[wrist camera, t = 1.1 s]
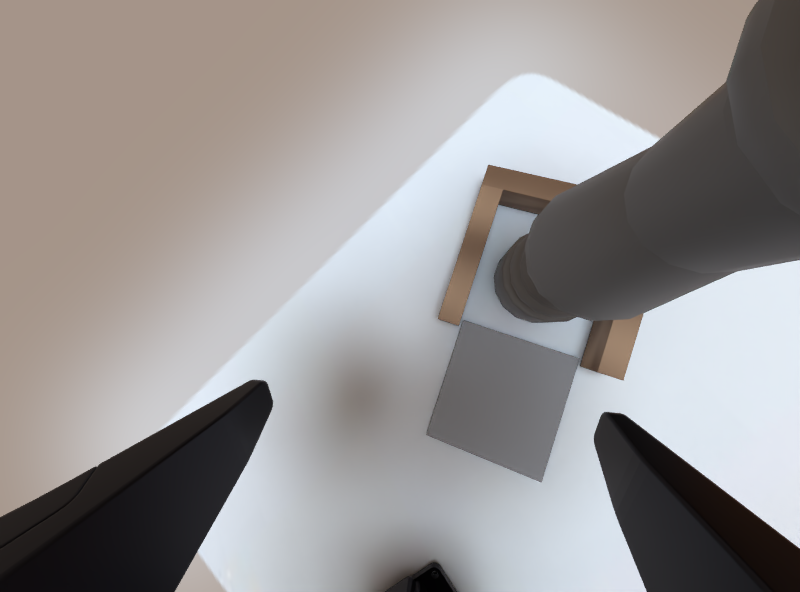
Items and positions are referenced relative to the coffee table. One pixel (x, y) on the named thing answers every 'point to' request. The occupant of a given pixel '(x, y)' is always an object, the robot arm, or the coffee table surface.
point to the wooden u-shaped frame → (501, 187)
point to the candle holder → (677, 198)
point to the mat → (503, 399)
